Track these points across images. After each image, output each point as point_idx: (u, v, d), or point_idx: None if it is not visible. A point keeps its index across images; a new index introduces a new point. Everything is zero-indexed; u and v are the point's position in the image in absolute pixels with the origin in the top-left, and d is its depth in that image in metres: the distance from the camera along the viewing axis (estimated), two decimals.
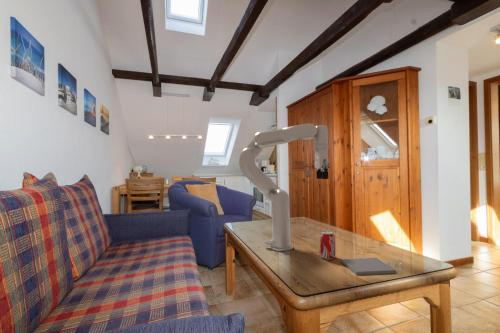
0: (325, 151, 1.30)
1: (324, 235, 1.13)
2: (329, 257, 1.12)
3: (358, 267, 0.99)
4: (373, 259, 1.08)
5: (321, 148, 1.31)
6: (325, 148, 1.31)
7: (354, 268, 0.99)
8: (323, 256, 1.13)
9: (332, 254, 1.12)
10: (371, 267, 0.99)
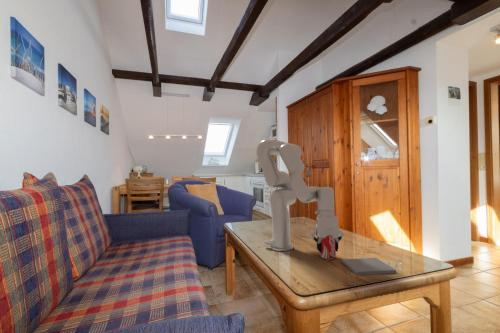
0: None
1: None
2: (329, 257, 1.12)
3: (358, 267, 0.99)
4: (373, 259, 1.08)
5: (334, 214, 1.15)
6: None
7: (354, 268, 0.99)
8: (323, 256, 1.13)
9: (332, 254, 1.12)
10: (371, 267, 0.99)
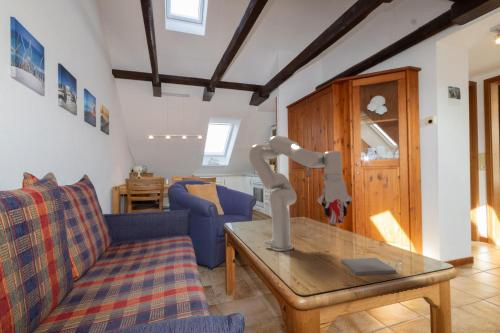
0: None
1: None
2: (338, 221, 1.09)
3: (358, 267, 0.99)
4: (373, 259, 1.08)
5: None
6: None
7: (354, 268, 0.99)
8: (331, 221, 1.10)
9: (341, 218, 1.09)
10: (371, 267, 0.99)
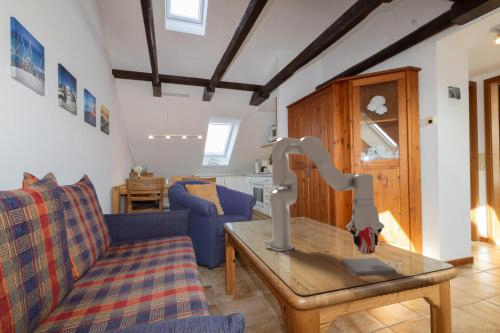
0: None
1: None
2: (369, 251, 0.99)
3: (358, 267, 0.99)
4: (373, 259, 1.08)
5: None
6: None
7: (354, 268, 0.99)
8: (361, 250, 1.01)
9: (372, 248, 1.00)
10: (371, 267, 0.99)
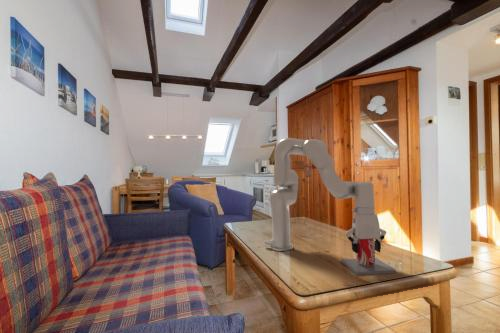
0: None
1: (362, 239, 1.01)
2: (368, 264, 0.99)
3: (358, 267, 0.99)
4: None
5: None
6: None
7: (354, 268, 0.99)
8: (361, 262, 1.01)
9: (372, 260, 1.00)
10: (371, 267, 0.99)
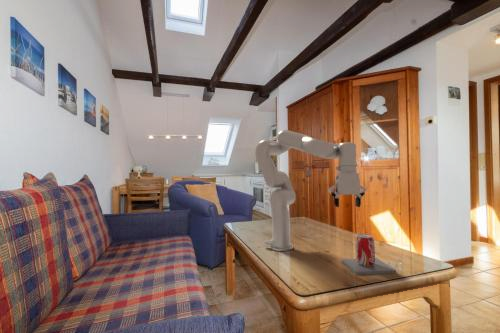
0: None
1: (362, 239, 1.01)
2: (368, 264, 0.99)
3: (358, 267, 0.99)
4: None
5: None
6: None
7: (354, 268, 0.99)
8: (361, 262, 1.01)
9: (372, 260, 1.00)
10: (371, 267, 0.99)
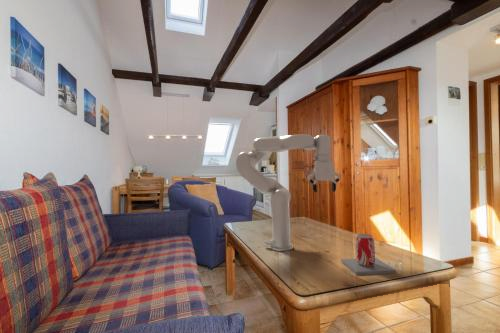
0: None
1: (362, 239, 1.01)
2: (368, 264, 0.99)
3: (358, 267, 0.99)
4: None
5: (330, 159, 1.25)
6: None
7: (354, 268, 0.99)
8: (361, 262, 1.01)
9: (372, 260, 1.00)
10: (371, 267, 0.99)
